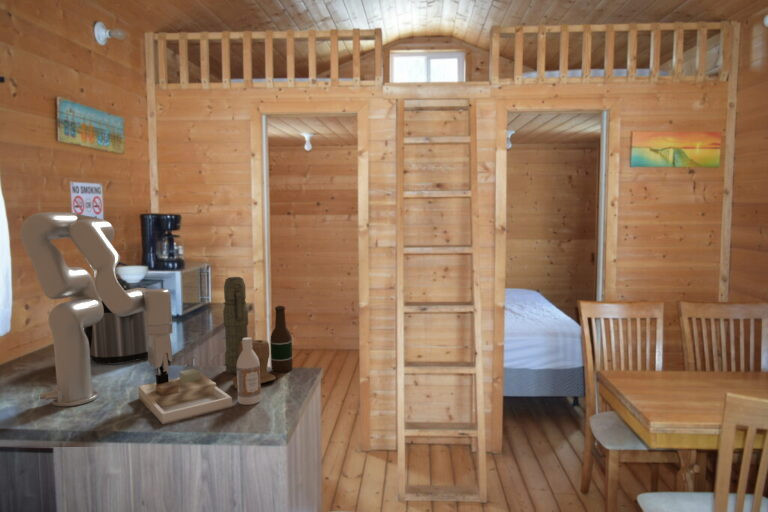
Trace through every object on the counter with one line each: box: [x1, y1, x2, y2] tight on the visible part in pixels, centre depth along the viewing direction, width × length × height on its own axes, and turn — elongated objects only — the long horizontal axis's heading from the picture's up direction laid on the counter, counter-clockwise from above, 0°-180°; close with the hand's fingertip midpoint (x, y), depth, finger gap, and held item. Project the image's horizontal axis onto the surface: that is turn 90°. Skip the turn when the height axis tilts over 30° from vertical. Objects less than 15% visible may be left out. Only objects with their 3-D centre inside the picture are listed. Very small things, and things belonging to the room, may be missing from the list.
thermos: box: [222, 276, 249, 375], centre depth 191 cm, size 9×12×35 cm
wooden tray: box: [137, 372, 217, 412], centre depth 165 cm, size 20×14×4 cm
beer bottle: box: [270, 305, 293, 374], centre depth 191 cm, size 8×8×24 cm
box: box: [150, 386, 233, 425], centre depth 154 cm, size 20×13×3 cm, turn 128°
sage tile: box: [179, 368, 201, 383], centre depth 170 cm, size 5×5×2 cm
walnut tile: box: [156, 381, 179, 397], centre depth 157 cm, size 5×5×2 cm
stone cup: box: [232, 339, 277, 389], centre depth 177 cm, size 15×12×15 cm
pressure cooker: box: [83, 280, 149, 365], centre depth 213 cm, size 30×28×32 cm
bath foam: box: [236, 336, 262, 406], centre depth 159 cm, size 7×7×20 cm
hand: (162, 386), depth 161 cm, fingers closed
